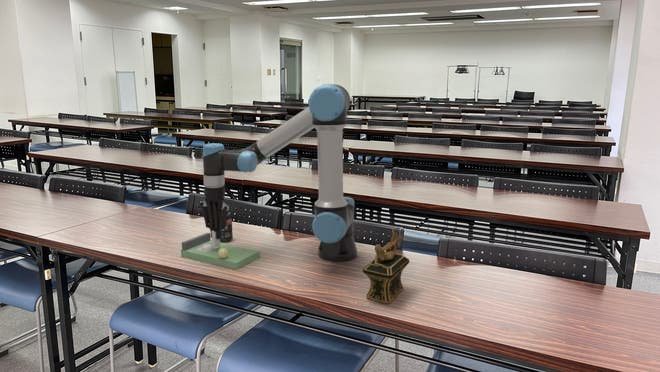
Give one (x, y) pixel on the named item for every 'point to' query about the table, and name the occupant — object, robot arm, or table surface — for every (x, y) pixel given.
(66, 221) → the table surface
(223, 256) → the yellow ball
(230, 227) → the supplement bottle
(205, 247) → the ball
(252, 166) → the robot arm
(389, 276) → the decorative box
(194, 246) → the green
